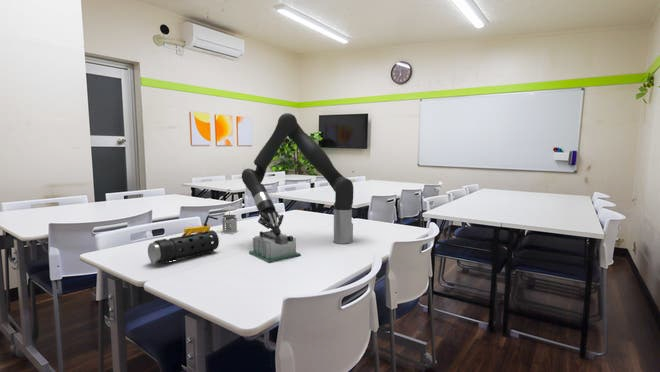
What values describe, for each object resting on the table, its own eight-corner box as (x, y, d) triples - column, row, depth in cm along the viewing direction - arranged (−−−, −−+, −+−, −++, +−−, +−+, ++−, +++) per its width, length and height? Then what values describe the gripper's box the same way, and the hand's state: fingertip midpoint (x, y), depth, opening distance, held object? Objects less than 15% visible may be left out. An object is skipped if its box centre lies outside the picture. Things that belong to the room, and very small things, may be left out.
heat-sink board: (279, 247, 172) (279, 227, 171) (301, 256, 158) (301, 235, 157) (249, 253, 162) (248, 232, 161) (269, 263, 148) (269, 240, 147)
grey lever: (269, 237, 166) (269, 230, 166) (288, 243, 154) (288, 236, 154) (262, 238, 164) (262, 232, 163) (280, 245, 152) (280, 238, 151)
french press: (229, 235, 195) (227, 190, 192) (215, 232, 201) (213, 189, 198) (242, 232, 203) (241, 188, 200) (228, 229, 209) (227, 187, 207)
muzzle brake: (219, 253, 162) (219, 231, 161) (158, 269, 140) (157, 243, 139) (207, 249, 168) (207, 228, 166) (147, 264, 146) (146, 239, 145)
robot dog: (220, 241, 183) (220, 215, 182) (184, 246, 172) (183, 219, 171) (217, 238, 188) (216, 213, 186) (181, 243, 177) (180, 217, 176)
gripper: (254, 200, 158) (268, 232, 150) (279, 197, 166) (294, 227, 158) (248, 210, 162) (262, 241, 154) (273, 207, 171) (287, 237, 163)
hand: (278, 234), depth 156 cm, fingers closed
